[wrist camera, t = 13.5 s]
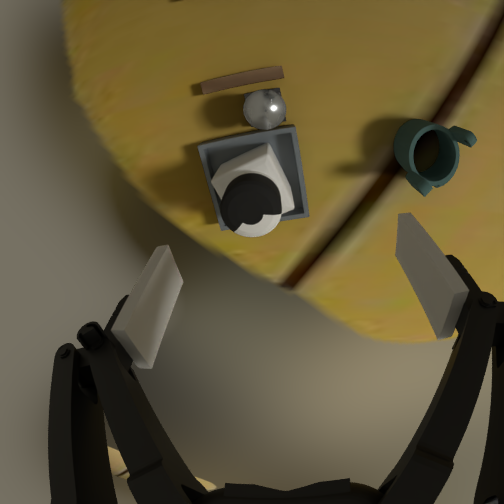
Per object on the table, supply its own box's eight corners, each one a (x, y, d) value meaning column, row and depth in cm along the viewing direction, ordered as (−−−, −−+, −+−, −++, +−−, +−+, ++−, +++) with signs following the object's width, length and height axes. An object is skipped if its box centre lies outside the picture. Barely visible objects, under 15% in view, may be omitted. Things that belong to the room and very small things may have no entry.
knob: (243, 93, 32) (239, 94, 27) (279, 87, 31) (281, 86, 27) (251, 127, 34) (248, 133, 30) (286, 120, 34) (289, 125, 29)
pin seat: (180, -9, 24) (177, -12, 23) (256, -27, 22) (256, -31, 21) (205, 94, 32) (203, 94, 31) (283, 78, 31) (284, 77, 29)
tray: (201, 142, 36) (197, 146, 34) (293, 124, 34) (295, 126, 32) (223, 222, 42) (221, 230, 40) (307, 209, 40) (309, 216, 38)
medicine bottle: (219, 164, 37) (199, 197, 27) (268, 141, 35) (268, 164, 25) (244, 208, 40) (235, 255, 30) (291, 188, 38) (299, 229, 28)
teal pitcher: (389, 173, 36) (417, 197, 29) (396, 111, 31) (428, 120, 24) (439, 180, 36) (470, 204, 28) (447, 122, 31) (484, 136, 23)
